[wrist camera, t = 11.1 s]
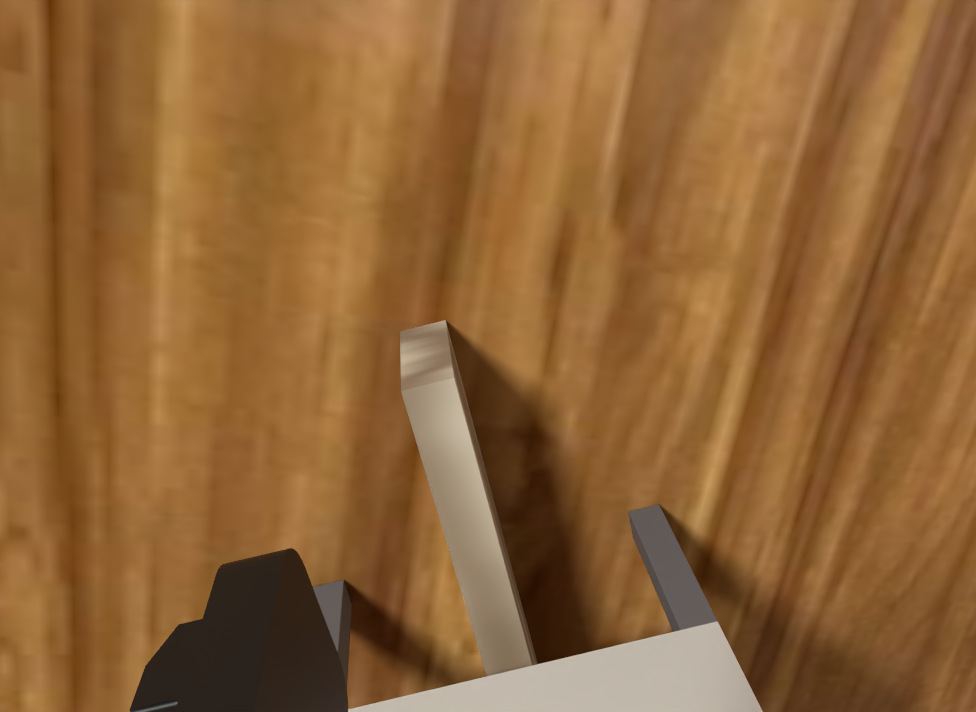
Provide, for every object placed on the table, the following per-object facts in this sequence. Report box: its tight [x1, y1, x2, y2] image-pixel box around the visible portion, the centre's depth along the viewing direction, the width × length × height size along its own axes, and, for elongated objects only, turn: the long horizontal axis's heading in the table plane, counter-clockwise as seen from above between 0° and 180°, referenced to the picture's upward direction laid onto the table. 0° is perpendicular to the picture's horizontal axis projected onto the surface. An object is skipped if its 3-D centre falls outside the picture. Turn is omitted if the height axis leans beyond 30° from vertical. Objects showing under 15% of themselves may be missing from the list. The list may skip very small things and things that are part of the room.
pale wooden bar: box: [400, 320, 538, 676], centre depth 41 cm, size 7×24×6 cm, turn 13°
